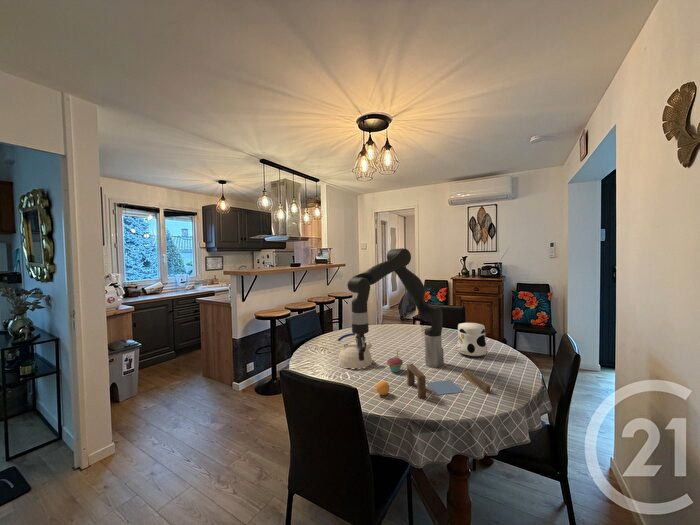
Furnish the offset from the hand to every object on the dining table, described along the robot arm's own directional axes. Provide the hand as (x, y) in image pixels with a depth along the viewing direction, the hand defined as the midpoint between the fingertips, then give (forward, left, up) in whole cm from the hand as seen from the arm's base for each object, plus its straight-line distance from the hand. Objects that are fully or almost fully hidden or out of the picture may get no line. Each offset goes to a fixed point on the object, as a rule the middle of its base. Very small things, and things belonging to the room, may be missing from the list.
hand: (361, 360), depth 132 cm
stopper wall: (-56, 0, -17) cm, 58 cm away
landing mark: (-40, 0, -17) cm, 43 cm away
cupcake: (-24, -25, -17) cm, 38 cm away
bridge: (-26, 0, -17) cm, 30 cm away
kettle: (-5, -42, -17) cm, 46 cm away
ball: (-10, 0, -14) cm, 17 cm away
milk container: (-78, -38, -17) cm, 88 cm away
